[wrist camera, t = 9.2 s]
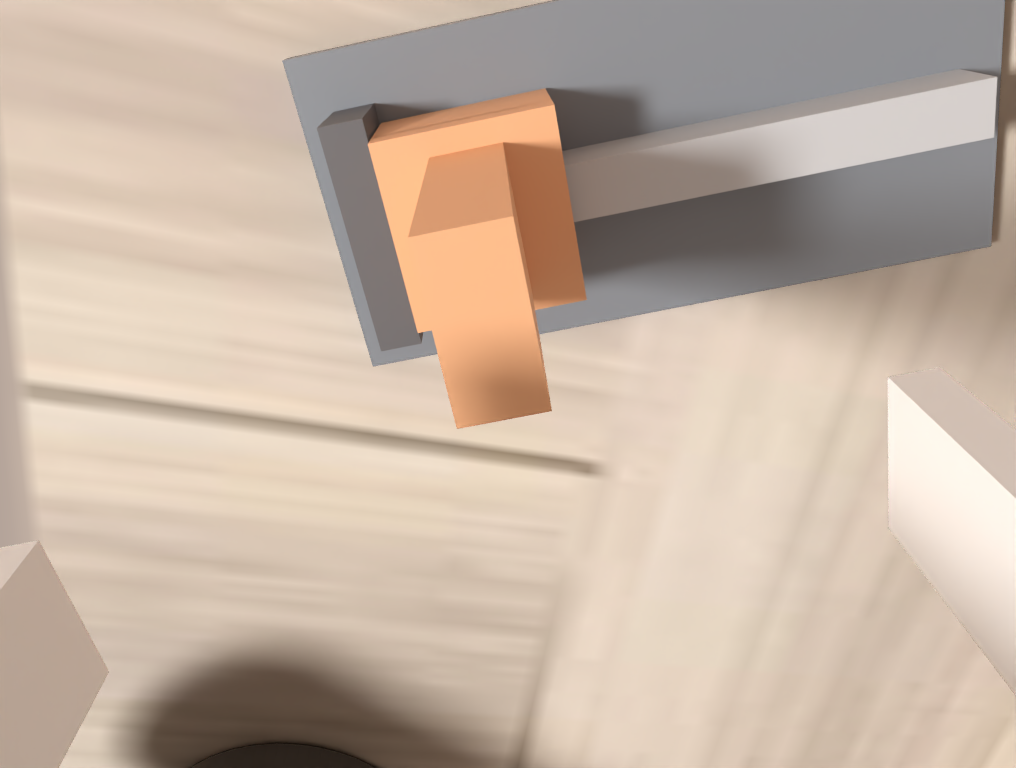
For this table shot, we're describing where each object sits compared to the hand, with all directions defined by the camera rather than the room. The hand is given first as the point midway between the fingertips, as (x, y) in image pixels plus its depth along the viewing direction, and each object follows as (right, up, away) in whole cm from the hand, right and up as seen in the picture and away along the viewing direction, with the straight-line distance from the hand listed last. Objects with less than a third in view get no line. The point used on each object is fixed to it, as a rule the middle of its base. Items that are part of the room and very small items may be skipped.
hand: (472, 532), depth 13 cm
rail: (+6, +11, +19) cm, 23 cm away
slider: (0, +9, +19) cm, 21 cm away
